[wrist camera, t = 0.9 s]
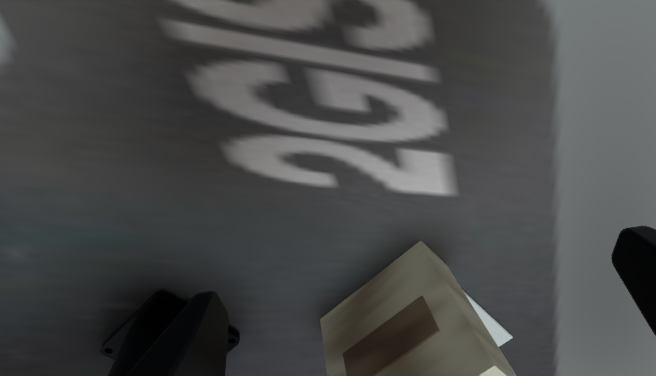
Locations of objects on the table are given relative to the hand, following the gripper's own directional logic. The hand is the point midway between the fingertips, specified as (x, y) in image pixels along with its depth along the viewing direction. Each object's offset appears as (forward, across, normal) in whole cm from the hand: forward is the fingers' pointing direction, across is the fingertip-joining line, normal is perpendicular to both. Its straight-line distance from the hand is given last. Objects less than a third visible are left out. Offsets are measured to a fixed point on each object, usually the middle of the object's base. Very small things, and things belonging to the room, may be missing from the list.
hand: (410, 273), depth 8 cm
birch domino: (+11, 0, +14) cm, 18 cm away
